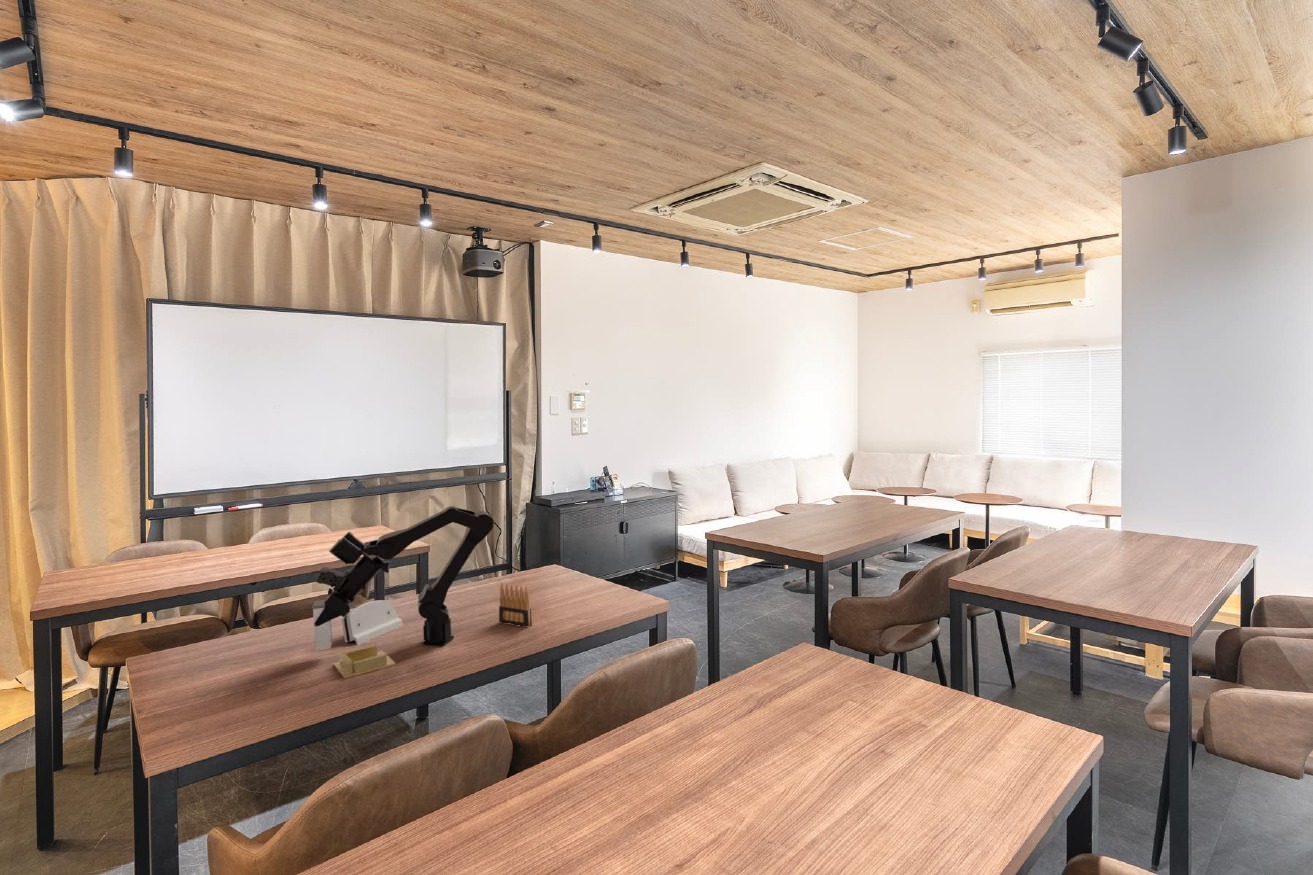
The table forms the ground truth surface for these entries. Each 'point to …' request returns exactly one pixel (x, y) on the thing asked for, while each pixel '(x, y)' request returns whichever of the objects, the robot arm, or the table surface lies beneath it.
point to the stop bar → (322, 628)
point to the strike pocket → (362, 661)
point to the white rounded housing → (370, 621)
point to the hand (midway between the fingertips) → (316, 621)
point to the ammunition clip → (514, 606)
